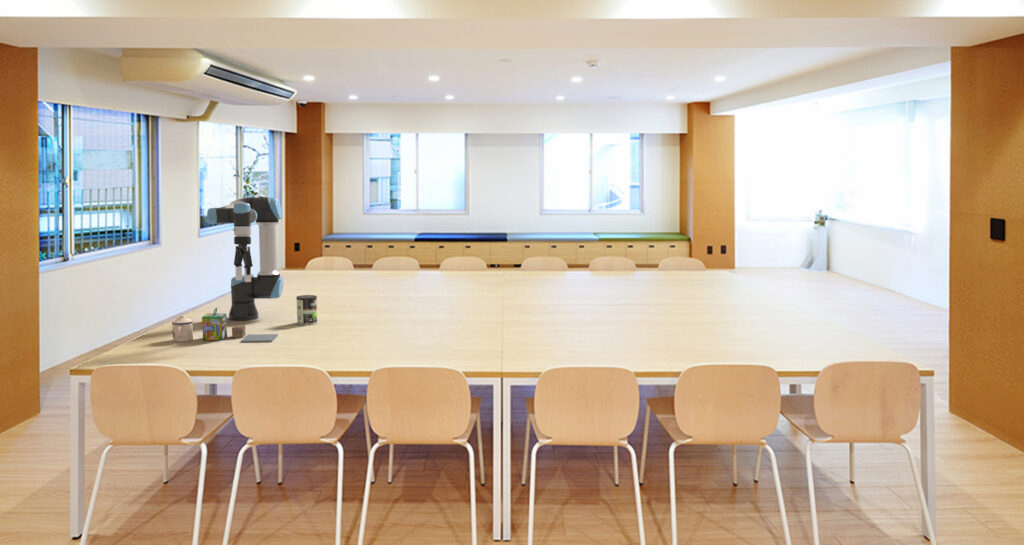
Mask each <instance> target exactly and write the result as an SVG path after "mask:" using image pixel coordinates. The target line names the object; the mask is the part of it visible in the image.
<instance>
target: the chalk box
mask: <svg viewBox="0 0 1024 545" xmlns="http://www.w3.org/2000/svg"><path fill="white" fill-rule="evenodd" d="M217 311H218V307H215V308H214V310H213V312H212V313H210V312H209V313H208V312H207V313H205V314H204V315H203V316H202V317H201V322H202V323H201V324H202V325H201V326H202V327H201V328H202V341H203V340H222V341H223V340H225V339H226V338H227V337H228V328H227V327H228V323H227V322H228V321H227V319H228V318H227V316H228V315H227V313H226V312H225V313H222V312H221V313H219V312H217Z"/></svg>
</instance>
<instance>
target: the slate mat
mask: <svg viewBox="0 0 1024 545" xmlns="http://www.w3.org/2000/svg"><path fill="white" fill-rule="evenodd" d="M278 336H279V334H278V333H273V334H272V333H265V334H263V333H262V334H261V333H259V334H257V333H256V334H255V333H254V334H252V333H251V334H247V335H246V336H245V337H243V338H241V340H240V343H272V342H273V341H275V340H276V339H277V337H278Z"/></svg>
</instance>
